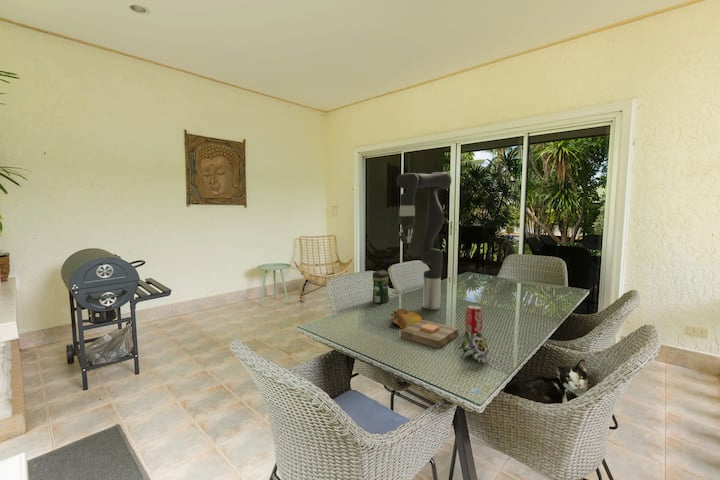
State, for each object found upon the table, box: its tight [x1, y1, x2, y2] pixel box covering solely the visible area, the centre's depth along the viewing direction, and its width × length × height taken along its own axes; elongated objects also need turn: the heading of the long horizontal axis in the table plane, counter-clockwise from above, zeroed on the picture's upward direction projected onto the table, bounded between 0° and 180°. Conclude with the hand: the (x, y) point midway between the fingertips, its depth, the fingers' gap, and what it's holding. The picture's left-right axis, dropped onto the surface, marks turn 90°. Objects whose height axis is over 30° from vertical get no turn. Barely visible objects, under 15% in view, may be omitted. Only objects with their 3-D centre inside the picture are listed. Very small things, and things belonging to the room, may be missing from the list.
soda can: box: [464, 304, 483, 336], centre depth 151 cm, size 7×7×12 cm
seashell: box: [389, 308, 423, 330], centre depth 164 cm, size 17×8×15 cm
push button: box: [420, 323, 439, 333], centre depth 148 cm, size 6×6×4 cm
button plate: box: [400, 319, 459, 349], centre depth 148 cm, size 18×18×3 cm
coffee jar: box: [372, 269, 390, 304], centre depth 201 cm, size 10×8×19 cm
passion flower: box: [458, 332, 489, 364], centre depth 126 cm, size 11×11×12 cm
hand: (406, 250), depth 167 cm, fingers closed
